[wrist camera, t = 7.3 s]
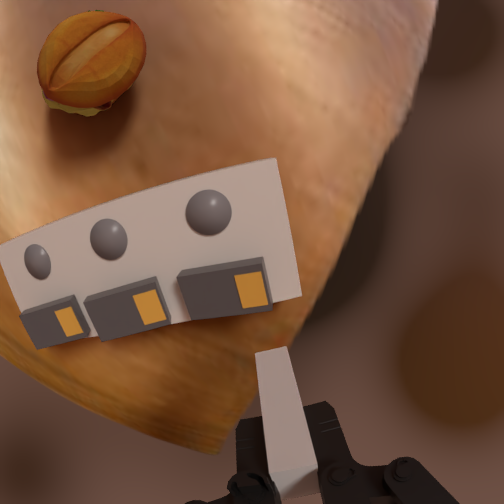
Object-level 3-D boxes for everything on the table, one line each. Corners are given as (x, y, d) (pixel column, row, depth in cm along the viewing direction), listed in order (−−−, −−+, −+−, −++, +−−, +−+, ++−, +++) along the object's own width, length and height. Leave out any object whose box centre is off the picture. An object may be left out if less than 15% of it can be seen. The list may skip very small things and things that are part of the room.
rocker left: (41, 342, 24) (36, 350, 23) (24, 310, 23) (18, 316, 21) (90, 329, 25) (87, 337, 24) (74, 294, 24) (69, 300, 23)
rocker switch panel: (52, 326, 30) (36, 344, 26) (15, 237, 26) (-6, 248, 22) (293, 278, 29) (302, 296, 25) (269, 157, 26) (276, 157, 22)
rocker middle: (104, 334, 24) (101, 342, 23) (87, 296, 23) (82, 303, 21) (171, 316, 25) (171, 324, 24) (156, 275, 24) (154, 282, 22)
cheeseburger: (71, 29, 19) (44, -9, 10) (161, 37, 23) (165, -6, 14) (43, 115, 22) (-1, 105, 13) (134, 125, 26) (122, 114, 17)
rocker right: (195, 311, 25) (190, 320, 24) (181, 269, 24) (175, 277, 22) (273, 301, 24) (272, 311, 22) (263, 256, 23) (261, 263, 21)
